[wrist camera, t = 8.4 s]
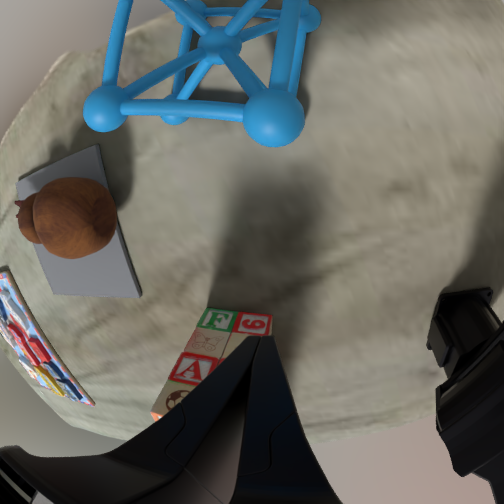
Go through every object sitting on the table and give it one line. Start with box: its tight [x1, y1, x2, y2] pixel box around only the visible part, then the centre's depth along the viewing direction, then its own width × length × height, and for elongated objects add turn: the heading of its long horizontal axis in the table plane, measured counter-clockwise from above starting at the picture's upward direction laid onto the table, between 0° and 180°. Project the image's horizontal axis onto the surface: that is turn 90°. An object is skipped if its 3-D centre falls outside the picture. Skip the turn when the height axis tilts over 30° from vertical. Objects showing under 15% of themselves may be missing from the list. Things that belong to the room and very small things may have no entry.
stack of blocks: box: [150, 308, 273, 422], centre depth 24 cm, size 21×6×12 cm, turn 0°
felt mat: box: [15, 144, 142, 298], centre depth 25 cm, size 15×15×1 cm
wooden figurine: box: [15, 177, 117, 259], centre depth 21 cm, size 7×6×15 cm
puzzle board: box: [0, 270, 95, 407], centre depth 39 cm, size 30×23×3 cm
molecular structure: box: [83, 0, 321, 147], centre depth 12 cm, size 10×10×10 cm
